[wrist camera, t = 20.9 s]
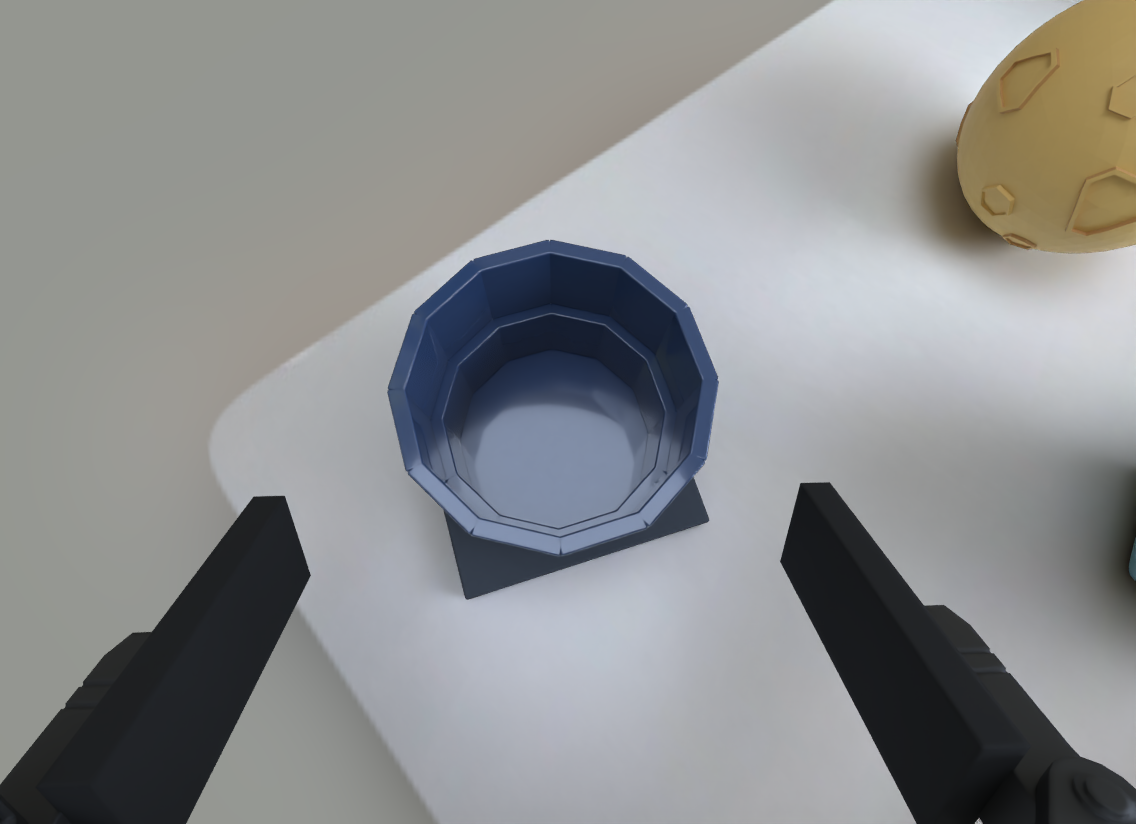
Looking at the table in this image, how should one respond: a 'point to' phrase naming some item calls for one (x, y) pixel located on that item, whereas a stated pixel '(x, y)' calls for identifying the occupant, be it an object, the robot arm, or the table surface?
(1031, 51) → the stress ball
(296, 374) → the table surface
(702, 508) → the mat
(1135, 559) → the flower pot
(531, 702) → the table surface
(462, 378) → the top bowl
